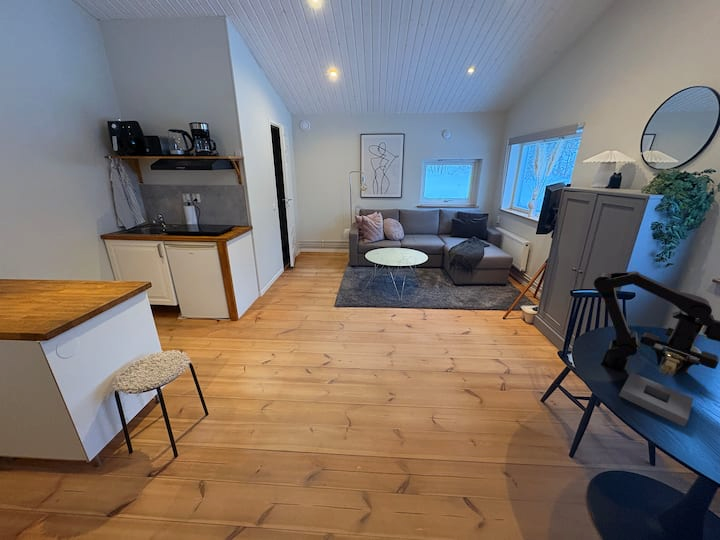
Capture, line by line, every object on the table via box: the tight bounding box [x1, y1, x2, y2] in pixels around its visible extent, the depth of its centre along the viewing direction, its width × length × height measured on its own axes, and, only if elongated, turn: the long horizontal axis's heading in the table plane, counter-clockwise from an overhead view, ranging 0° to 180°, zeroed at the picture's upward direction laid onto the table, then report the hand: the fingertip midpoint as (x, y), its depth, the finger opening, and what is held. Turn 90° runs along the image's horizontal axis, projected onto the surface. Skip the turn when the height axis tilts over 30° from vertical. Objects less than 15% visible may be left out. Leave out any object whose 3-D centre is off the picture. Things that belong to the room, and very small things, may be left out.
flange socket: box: [618, 372, 694, 428], centre depth 100 cm, size 16×14×3 cm
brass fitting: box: [658, 351, 685, 377], centre depth 105 cm, size 5×5×7 cm
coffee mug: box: [665, 345, 702, 375], centre depth 114 cm, size 12×9×10 cm
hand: (668, 368), depth 106 cm, fingers closed on brass fitting, 5 cm apart
